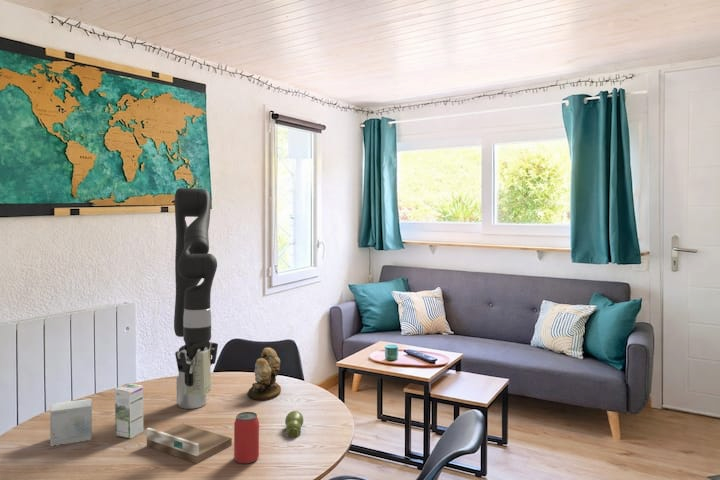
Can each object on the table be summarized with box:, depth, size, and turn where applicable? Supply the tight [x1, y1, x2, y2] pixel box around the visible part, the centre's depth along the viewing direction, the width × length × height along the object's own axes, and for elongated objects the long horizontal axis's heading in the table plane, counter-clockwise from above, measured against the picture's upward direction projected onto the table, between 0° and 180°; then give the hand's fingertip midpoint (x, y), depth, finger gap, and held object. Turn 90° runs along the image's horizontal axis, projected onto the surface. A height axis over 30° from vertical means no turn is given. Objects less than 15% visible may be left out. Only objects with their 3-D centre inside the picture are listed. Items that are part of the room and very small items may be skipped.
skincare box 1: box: [49, 398, 93, 447], centre depth 150 cm, size 10×6×10 cm, turn 117°
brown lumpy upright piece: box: [247, 347, 282, 402], centre depth 193 cm, size 18×12×17 cm, turn 2°
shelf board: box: [146, 423, 232, 464], centre depth 147 cm, size 20×13×5 cm, turn 60°
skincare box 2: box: [184, 350, 212, 396], centre depth 147 cm, size 6×4×12 cm
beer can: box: [233, 411, 260, 465], centre depth 140 cm, size 7×7×12 cm
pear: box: [284, 410, 304, 438], centre depth 159 cm, size 6×5×10 cm
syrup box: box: [114, 383, 145, 439], centre depth 154 cm, size 6×6×14 cm
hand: (197, 382), depth 147 cm, fingers closed on skincare box 2, 5 cm apart
